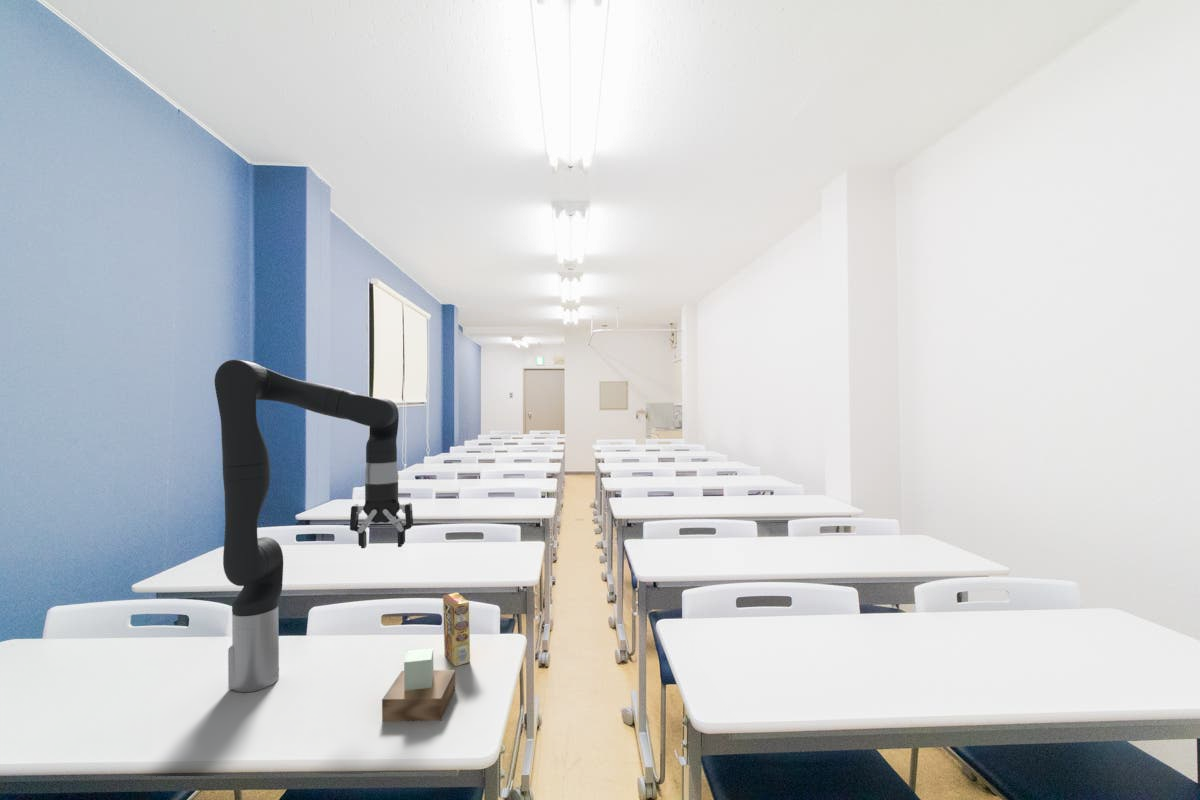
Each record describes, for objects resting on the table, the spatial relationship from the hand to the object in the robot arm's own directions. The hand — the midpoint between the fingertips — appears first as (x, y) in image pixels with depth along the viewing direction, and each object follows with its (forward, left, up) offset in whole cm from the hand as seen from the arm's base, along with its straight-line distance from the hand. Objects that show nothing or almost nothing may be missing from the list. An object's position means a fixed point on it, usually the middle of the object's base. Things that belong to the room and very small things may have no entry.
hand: (382, 547), depth 136 cm
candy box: (+17, +4, -30) cm, 35 cm away
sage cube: (+12, -17, -26) cm, 33 cm away
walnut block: (+12, -17, -30) cm, 37 cm away
